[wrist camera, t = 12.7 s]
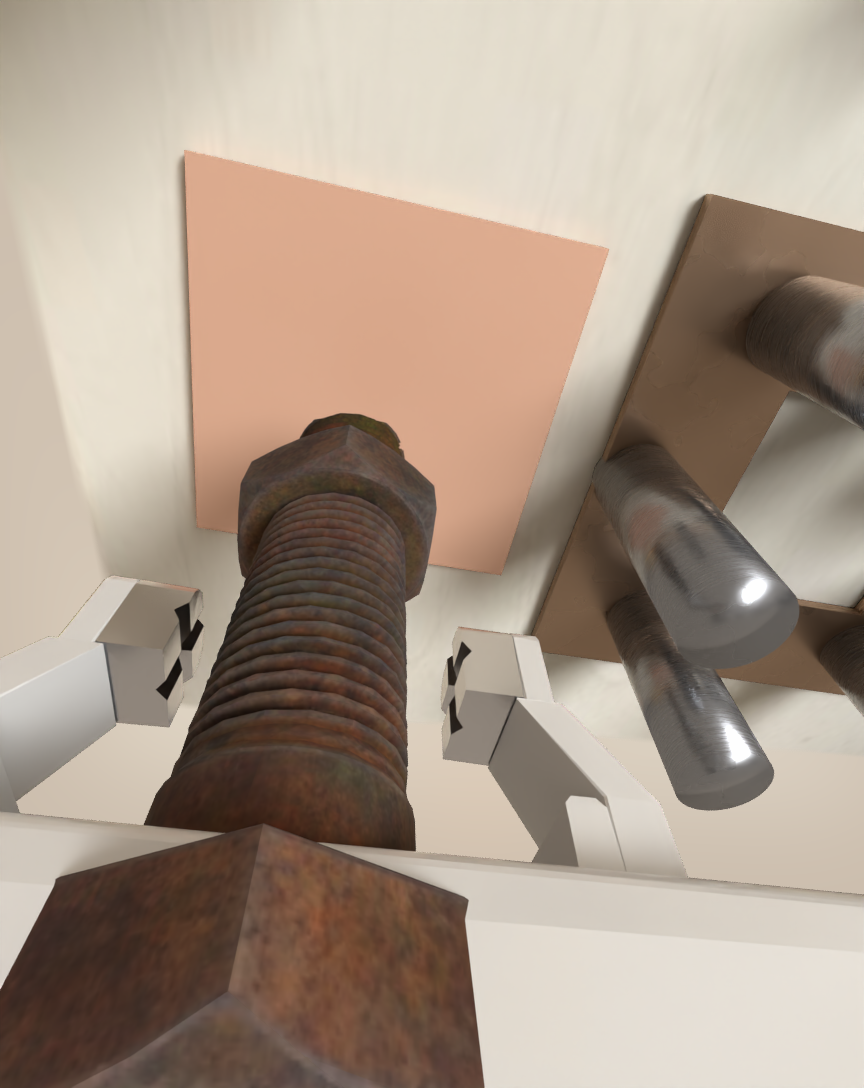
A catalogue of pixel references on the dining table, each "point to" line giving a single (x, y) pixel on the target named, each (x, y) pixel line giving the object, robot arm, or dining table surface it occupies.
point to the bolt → (274, 832)
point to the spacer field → (716, 496)
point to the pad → (378, 340)
